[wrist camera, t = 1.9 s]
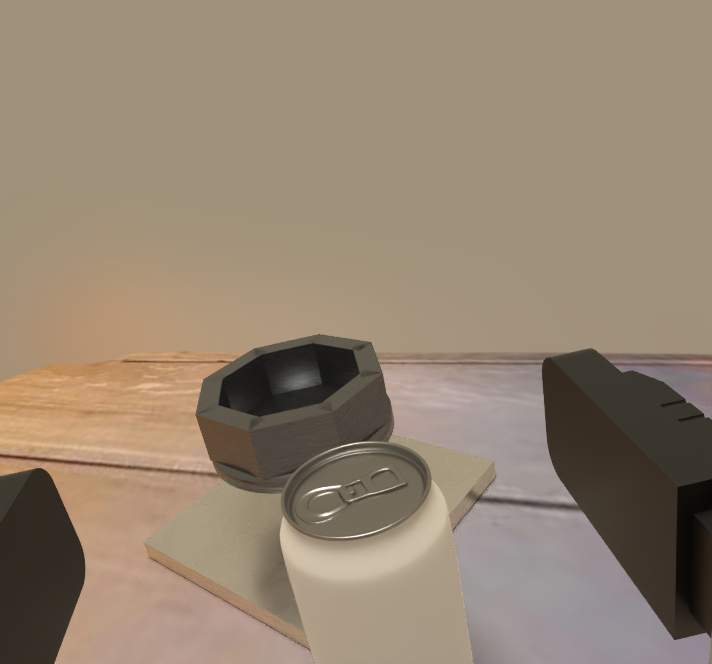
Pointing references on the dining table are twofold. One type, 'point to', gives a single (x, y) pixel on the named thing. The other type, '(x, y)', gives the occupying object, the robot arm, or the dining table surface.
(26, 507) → the robot arm
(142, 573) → the dining table surface
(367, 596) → the can
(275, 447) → the cup bracket
